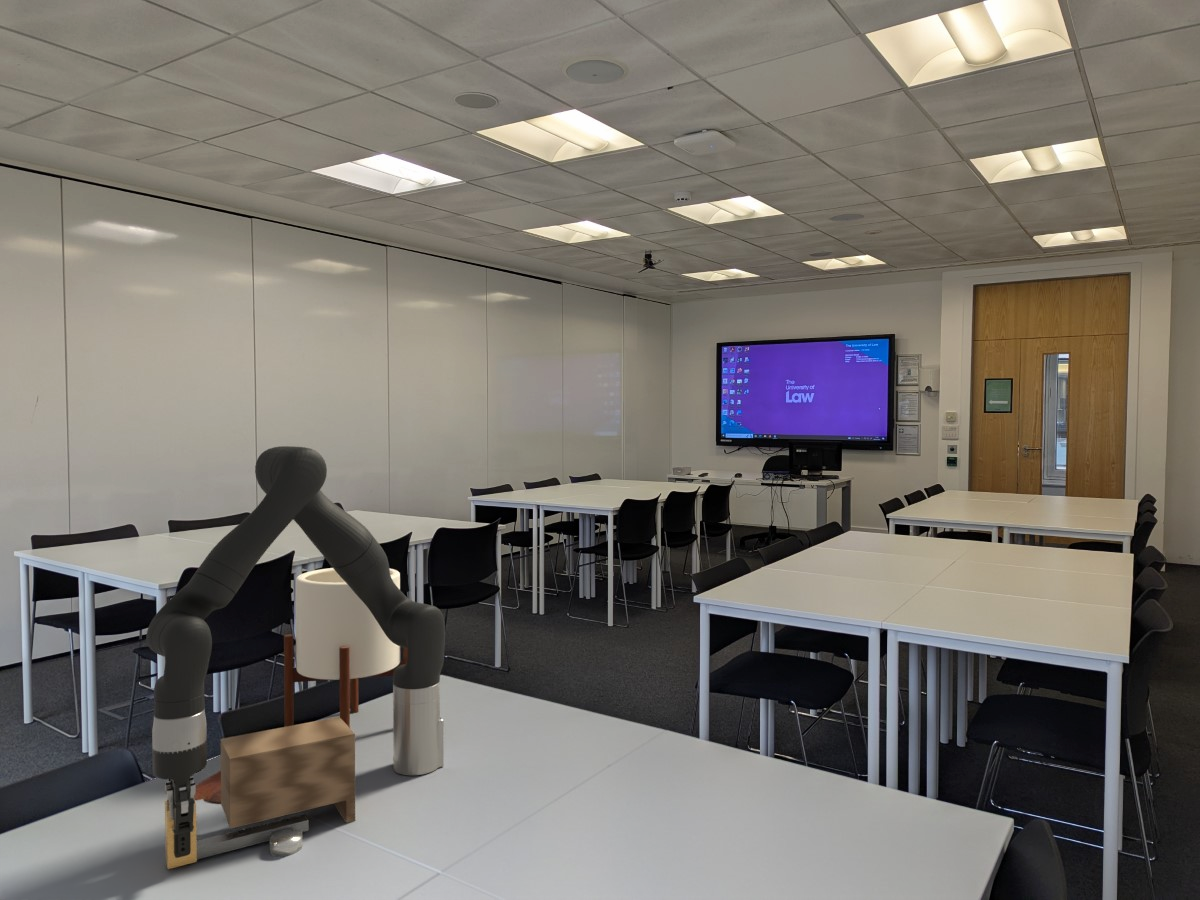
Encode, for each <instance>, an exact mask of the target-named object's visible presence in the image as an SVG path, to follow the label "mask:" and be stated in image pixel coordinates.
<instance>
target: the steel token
mask: <svg viewBox="0 0 1200 900" xmlns="http://www.w3.org/2000/svg"><path fill="white" fill-rule="evenodd" d="M303 838H304V837H303V832H301V831H300V830H296V829H287V830H282V831H279V832H277V833H275V834H273V835H272V836H271V837H270V841H269V853H270V855H272V856H274V857H288V856H291V855H294V854H297V853H298V852H299V851H301V850H302V849H303V846H304V844H303V840H304V839H303Z"/></svg>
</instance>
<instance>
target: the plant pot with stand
mask: <svg viewBox="0 0 1200 900" xmlns="http://www.w3.org/2000/svg"><path fill="white" fill-rule="evenodd" d="M389 570H390V576H391V578H392V580H393V582H394V583H395V585H396V586H397V587H398V588H399V589H400V590H401V572H399V571H398V570H397V569H394V568H390V567H389ZM295 609H296V610H295V613H296V614H295V617H296V618H295V619H296V620H295V621H296V623H295V625H296V626H295V629H296V631H295V632H296V634H295V635H296V636H295V638H296V641H295V644H296V645H295V648H296V655H295V656H296V662H295V663H296V667H294V634H292V633H288V634H284V635H283V662H284V663H283V674H284V675H283V676H284V677H283V679H284V680H283V685H284V686H283V688H284V689H283V691H284V694H283V695H284V696H283V697H284V699H283V702H284V704H283V705H284V706H283V707H284V727H287V726H292V725H295V723H294V722H295V720H294V719H295V717H294V713H295V711H294V710H295V709H294V708H295V707H294V706H295V704H294V703H295V702H294V698H295V697H294V690H295V689H294V683H302V682H304V683H305V682H319V681H320V682H321V681H335V680H336V681H337V680H339V717H340V718H341V719H342V720H343V721H344V722H345V723H346V724H347V726H348V727H349V728H350V729H351V726H350V724H351V723H350V722H351V720H350V719H351V718H350V717H351V716H350V714H356V713H359V679H364V678H365V679H366V678H367V679H368V678H377V677H378V678H380V677H382V678H383V677H393V673H394V670H395V669H396V668H397V667H399V666H401V665H404V664H406V662H407V650H408V648H405V647H403V660H401V646H398V645H396V644H394V643H393V642H391V641H390V640H389V638H388V637H387V636H386V634H385V633H384V632H383V630H382V628H381V627H380V625H379V624H378V622H377V621H376V619H375V617H374V616H373V614H372V613H371V611H370V610H369V609H368V607H367V606H366V605H365V604H364V602H363V601H362V600H361V599H360V598H359V597H358V596H357V595H356V594H355V593H354V591H353V590H352V589H351V588H350V587H349V586H348V584H347V583H346V582H345V581H344V580H343V579H342V578H341V577H340V576H339V575H338V573H337V572H336V571H335V570H334V569H333V567H330V568H321V569H316V570H310V571H307V572H304V573H301V574H299V575H298V576H297V577H296V578H295Z"/></svg>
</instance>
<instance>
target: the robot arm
mask: <svg viewBox="0 0 1200 900" xmlns="http://www.w3.org/2000/svg"><path fill="white" fill-rule="evenodd" d="M327 469H328V468H327V463H326V460H325V459H324V456H322V454H320V453H319V452H318V451H317V450H315V449H313V448H309V447H305V446H304V447H303V446H293V445H292V446H291V445H290V446H286V445H284V446H283V445H282V446H281V445H280V446H274V447H271V448H268V449H265V450H264V451H263V452H262V453H260V454H259V456H258V457H257V459H256V462H255V465H254V474H255V478H256V481H257V484H258V486H259V487H260V489H261V490H262V491H263V493H265V496H264V497H263V499H262V500H261V501H260V502H259V503H258V505H257V506H256V507H255V509H253V511H251V513H250V514H249V515H247V516H246V517H245V518H244V519H243V520H242V521H241V522H240V523H238V525H237V526H235V527H234V528H233V529H232V530H230V532H228V533H227V534H225V536H224V537H222V538H221V540H220V541H218V542H217V543H216V545H215V546H214V547H212V549H211V551H209V553H208V554H207V556H206V557H205V559H204V560H203V561H202V562H201V563H200V566H199V567H198V568H197V570H196V571H195V573H194V574H193V576H191V578H190V580H189V581H188V583H187V584H186V585H184V586H183V587H182V588H180V589H179V591H177V592H176V593H175V594H174V595H173V596H172V597H171V598H170V599H169V600H168V601H167V602H166V603H165V604H164V605H163V606H162V607H161V608H160V609H159V610H158V611H157V613H156V614H155V615H154V616H153V618H152V620H151V622H150V623H149V625H148V628H147V631H146V644H147V646H148V648H149V649H150V650H151V651H152V652H154V653H155V654H157V655H160V656H161V657H164V671H163V675H161V676H159V678H157V680H156V682H155V683H154V689H153V721H152V722H153V724H152V730H151V735H152V738H151V739H152V741H151V743H152V745H151V747H152V751H151V753H152V774H153V776H154V777H156V778H157V779H159V780H167V781H166V782H165V783H164V792H165V794H166V801H167V802H169V817H170V818H171V819H173V829H172V832H173V833H174V855H175V857H176V858H179V857H183V856H187V855H189V854H190V852H191V837H190V832H192V831H193V829H194V825H193V814H194V812H195V807H194V803H195V802H196V800H194V795H195V793H196V782H194V781H195V780H194V776H193V775H195V774H199V773H200V772H202V771H203V770H204V769H205V768H206V766H207V764H208V752H207V749H208V748H207V747H208V744H207V743H208V742H207V738H208V736H207V730H208V729H207V719H206V718H207V717H206V712H205V705H206V703H205V701H206V699H205V680H206V676H207V673H208V670H209V663H210V658H211V654H212V648H213V639H212V638H213V637H212V633H211V632H212V631H211V629H210V626H209V624H208V623H207V622H206V621H205V619H207V618H208V617H209V615H210V614H211V613H212V612H214V611H216V610H220V609H224V608H225V607H227V605H229V604H230V602H231V601H232V600H233V598H234V597H235V596H236V594H237V593H238V591H239V589H240V588H241V587H242V585H243V584H244V583H245V581H246V580H247V578H248V576H249V574H250V573H251V571H252V570H253V569H254V567H255V566H256V565H257V563H258V562H259V561H260V559H261V558H262V557H263V556H264V554H265V553H266V551H268V549H269V548H270V546H271V545H272V544H273V543H274V542H275V541H276V539H277V538H278V537H279V536H280V534H281V533H283V531H284V530H285V529H286V528H287V527H288V526H289V525H290V523H291V522H293V521H294V522H295V523H296V524H297V525H298V527H299V528H300V529H301V530H302V532H303V533H304V534H305V536H306V537H308V540H310V542H311V543H312V544H313V546H315V548H316V549H317V550H318V551H319V553H320V554H321V555H322V556H323V557H324V558H325V560H326V561H327V562H328V564H329V565H330V566H331V568H333V569H334V570H335V571H336V572H337V573H338V575H339V576H340V577H341V578H342V579H343V580H344V581H345V582H346V583H347V584H348V586H349V587H350V588H351V589H352V590H353V591H354V593H355V594H356V595H357V596H358V597H359V598H360V599H361V600H362V601H363V602H364V604H365V605H366V606H367V607H368V609H369V610H370V611H371V613H372V614H373V616H374V617H375V619H376V621H377V622H378V624H379V625H380V627H381V628H382V630H383V632H384V633H385V634H386V636H387V637H388V638H389V640H390V641H391V642H393V643H394V644H396V645H398V646H400V648H404V647H405V648H408V650H407V662H406V664H404V665H401V666H399V667H397V668H396V669H395V670H394V673H393V676H392V681H393V682H392V694H393V695H392V704H393V705H392V707H393V708H392V711H393V712H392V715H393V716H392V719H393V721H392V722H393V723H392V724H393V725H392V727H393V728H392V729H393V730H392V731H393V732H392V733H393V734H392V735H393V736H392V737H393V738H392V740H393V744H392V745H393V749H392V750H393V753H392V754H393V756H392V761H393V771H394V772H396V773H397V774H399V775H404V776H419V775H421V776H422V775H425V774H429V773H432V772H434V771H436V770H437V769H439V768H442V767H444V765H445V764H444V763H445V762H444V757H445V756H444V755H445V752H444V748H445V747H444V742H445V741H444V739H445V738H444V735H445V733H444V726H445V725H444V719H443V718H442V717H441V711H440V710H441V703H440V702H441V701H440V700H441V697H440V696H441V695H440V694H441V693H440V691H441V687H440V686H441V681H440V680H441V677H440V676H441V672H442V670H443V667H444V661H445V644H446V622H445V618H444V614H443V613H442V611H441V609H440V608H438V607H437V606H435V605H430V604H426V603H422V602H419V601H418V602H417V601H413V600H411V599H410V598H409V597H408V596H406V595H405V593H403V591H401V588H400V589H399V588H398V587H397V586H396V585H395V583H394V582H393V580H392V578H391V576H390V570H389V568H390V564H389V563H390V562H389V560H388V556H387V554H386V552H385V551H384V549H383V547H382V546H381V545H380V543H379V542H378V541H377V538H375V536H373V534H372V533H371V531H370V530H369V529H368V528H367V527H366V526H365V525H364V524H362V523H361V522H360V521H359V520H358V519H356V518H355V517H353V516H352V515H351V514H350V513H348V512H347V511H346V510H344V509H343V508H341V507H340V506H338V505H337V504H336V503H334V502H333V501H332V500H330V499H329V498H328V497H327V495H325V494H324V492H323V491H322V487H323V486H324V484H325V482H326V479H327V474H328V473H327V471H328V470H327ZM173 807H174V808H175V812H174V811H173ZM182 822H187V823H186V824H182V825H179V824H180V823H182Z"/></svg>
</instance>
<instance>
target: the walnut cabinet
mask: <svg viewBox="0 0 1200 900" xmlns="http://www.w3.org/2000/svg"><path fill="white" fill-rule="evenodd" d="M220 771H221V803H220V805H221V808H222V811H223V813H224V815H225V818H226V821H227V824H228V826H229V829H230V830H231V829H234V828H238V827H243V826H246V825H250V824H255V823H258V822H263V821H267V820H270V819H271V820H272V819H275V818H279V817H282V816H287V815H292V814H296V813H299V812H305V811H308V810H311V809H317V808H319V807H320V808H321V807H324V806H328V805H332V804H333V805H334V807H335V808H336V809H337V811H338V813H339V814H340V815H341V817H342V819H343V820H344V822H345V823H346V824H348V823H351V822H352V823H353V822H355V821H356V733H355V731H353V730H352V729H351V727H350V728H349V727H348V726H347V724H346V723H345V722H344V721H343V720H342V719H341V718H340V716H336V717H335V716H334V717H330V718H325V719H319V720H315V721H309V722H304V723H299V724H294V725H292V726H287V727H285V726H283V727H277V728H272V729H267V730H261V731H256V732H250V733H245V734H239V735H235V736H228V737H223V738H220Z"/></svg>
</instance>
